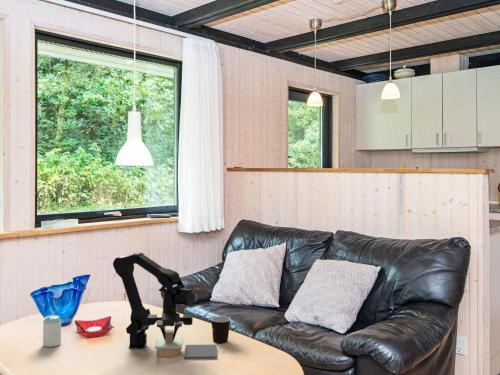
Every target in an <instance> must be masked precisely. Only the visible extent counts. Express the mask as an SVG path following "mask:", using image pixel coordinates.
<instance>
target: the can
mask: <svg viewBox="0 0 500 375" xmlns="http://www.w3.org/2000/svg"><path fill="white" fill-rule="evenodd" d="M61 343H62V319H61V318H60V315H57V314H50V315H46V316H45V317H44V320H43V322H42V345H43V346H44V347H46V348H55V347H58V346H59V345H60V344H61Z"/></svg>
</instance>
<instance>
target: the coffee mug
mask: <svg viewBox="0 0 500 375" xmlns="http://www.w3.org/2000/svg"><path fill="white" fill-rule="evenodd" d="M210 320H211V332H212V342H213V343H215V344H216V345H224V344H227V343H228V341H229V333H230V326H231V318H230V317H229V316H225V315H219V316H218V315H217V316H213V317H211V318H210Z"/></svg>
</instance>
